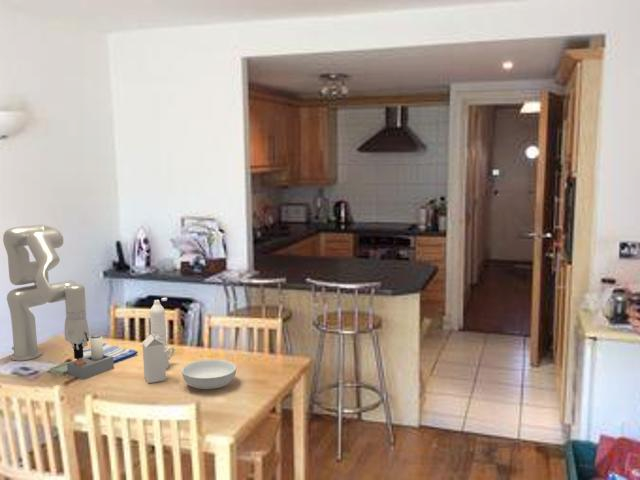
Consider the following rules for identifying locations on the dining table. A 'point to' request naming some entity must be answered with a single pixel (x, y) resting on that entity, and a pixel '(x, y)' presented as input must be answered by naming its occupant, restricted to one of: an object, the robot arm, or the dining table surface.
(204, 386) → the serving bowl
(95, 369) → the housing
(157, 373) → the milk carton
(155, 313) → the water bottle
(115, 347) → the dish towel
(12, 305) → the robot arm
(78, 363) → the plunger
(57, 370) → the tray
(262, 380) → the dining table surface
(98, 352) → the cylinder
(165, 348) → the mug
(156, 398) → the dining table surface
